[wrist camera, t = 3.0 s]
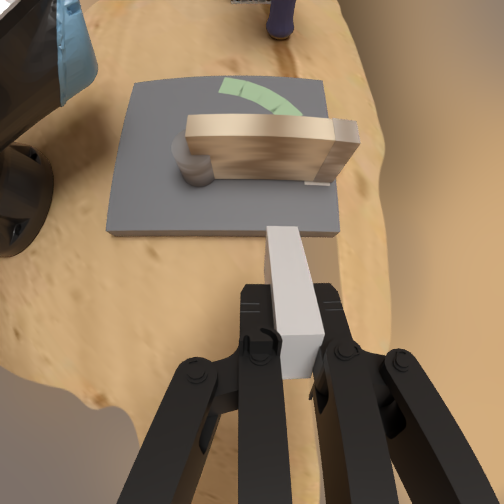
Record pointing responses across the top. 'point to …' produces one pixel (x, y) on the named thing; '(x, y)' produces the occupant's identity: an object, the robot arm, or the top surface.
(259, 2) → the circuit breaker
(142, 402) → the top surface
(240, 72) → the top surface
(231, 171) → the wooden block
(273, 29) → the rubber mallet
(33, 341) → the top surface
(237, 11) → the top surface
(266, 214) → the board
